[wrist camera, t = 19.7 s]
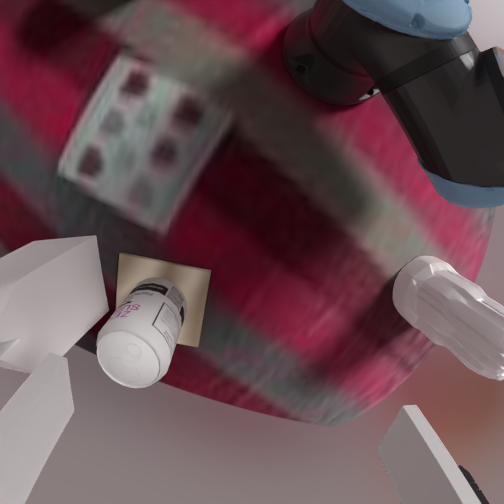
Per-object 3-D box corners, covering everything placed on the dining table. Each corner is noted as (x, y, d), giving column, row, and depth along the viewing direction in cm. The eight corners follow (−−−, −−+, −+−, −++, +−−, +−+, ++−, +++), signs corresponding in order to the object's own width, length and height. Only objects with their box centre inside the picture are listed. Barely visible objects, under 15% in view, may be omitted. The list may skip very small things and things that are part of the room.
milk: (48, 309, 43) (-48, 398, 18) (33, 241, 40) (-88, 300, 15) (109, 310, 44) (20, 424, 19) (96, 235, 41) (-30, 306, 16)
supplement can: (171, 338, 44) (148, 404, 30) (123, 309, 43) (82, 365, 28) (198, 295, 43) (181, 354, 28) (146, 264, 41) (106, 309, 27)
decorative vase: (454, 281, 45) (557, 348, 21) (415, 329, 47) (502, 419, 23) (422, 241, 43) (544, 300, 19) (379, 293, 45) (477, 389, 21)
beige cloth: (211, 270, 43) (210, 272, 42) (198, 344, 46) (198, 347, 45) (121, 252, 42) (119, 253, 41) (116, 326, 44) (115, 329, 44)
